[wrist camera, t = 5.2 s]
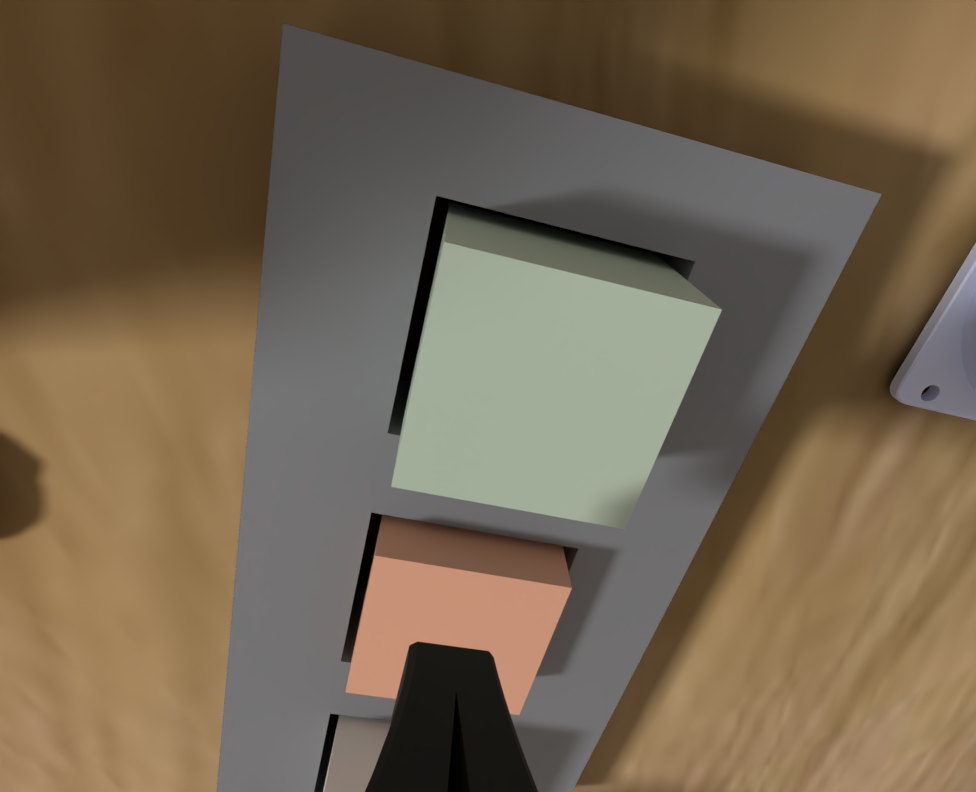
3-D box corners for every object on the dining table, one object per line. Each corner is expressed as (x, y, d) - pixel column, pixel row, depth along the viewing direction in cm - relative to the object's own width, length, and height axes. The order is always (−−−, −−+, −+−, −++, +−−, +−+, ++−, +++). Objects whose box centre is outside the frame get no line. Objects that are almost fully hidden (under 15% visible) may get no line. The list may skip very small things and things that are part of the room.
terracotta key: (551, 493, 19) (571, 587, 15) (509, 608, 21) (519, 715, 17) (392, 463, 18) (375, 555, 14) (366, 586, 20) (345, 692, 17)
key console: (806, 175, 15) (882, 194, 12) (523, 790, 26) (531, 870, 23) (319, 37, 13) (282, 23, 11) (239, 759, 24) (212, 841, 22)
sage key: (656, 255, 14) (722, 309, 11) (589, 433, 16) (625, 529, 13) (449, 202, 13) (444, 242, 10) (407, 396, 16) (391, 486, 12)
